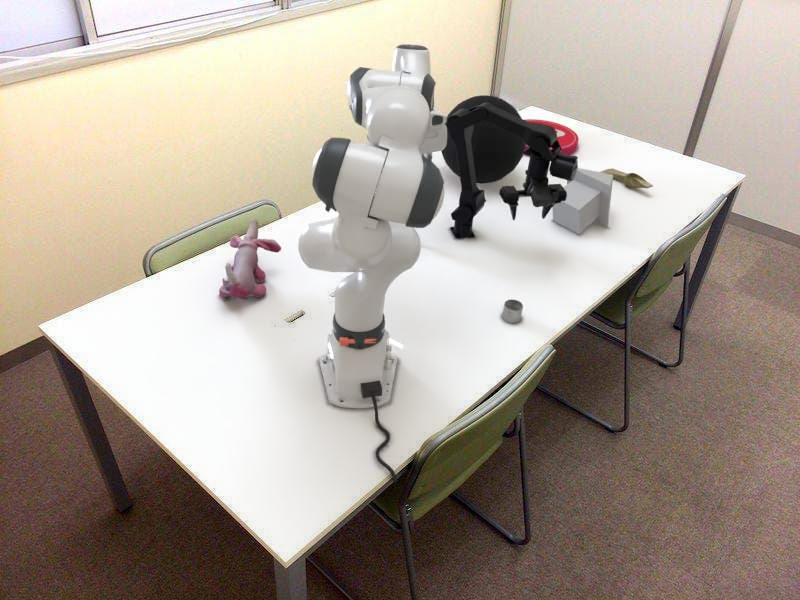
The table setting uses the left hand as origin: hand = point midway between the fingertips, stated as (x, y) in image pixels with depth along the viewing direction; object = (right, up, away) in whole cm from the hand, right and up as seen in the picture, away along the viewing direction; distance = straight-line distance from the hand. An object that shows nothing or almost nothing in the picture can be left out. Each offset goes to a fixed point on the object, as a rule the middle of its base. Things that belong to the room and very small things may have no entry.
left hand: (405, 171), depth 159 cm
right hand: (+37, -7, +36) cm, 52 cm away
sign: (+56, +33, +109) cm, 127 cm away
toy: (-45, -26, +24) cm, 57 cm away
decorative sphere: (+27, +13, +80) cm, 86 cm away
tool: (+82, +12, +83) cm, 118 cm away
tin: (+29, -36, +17) cm, 49 cm away
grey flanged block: (+60, -4, +61) cm, 85 cm away
